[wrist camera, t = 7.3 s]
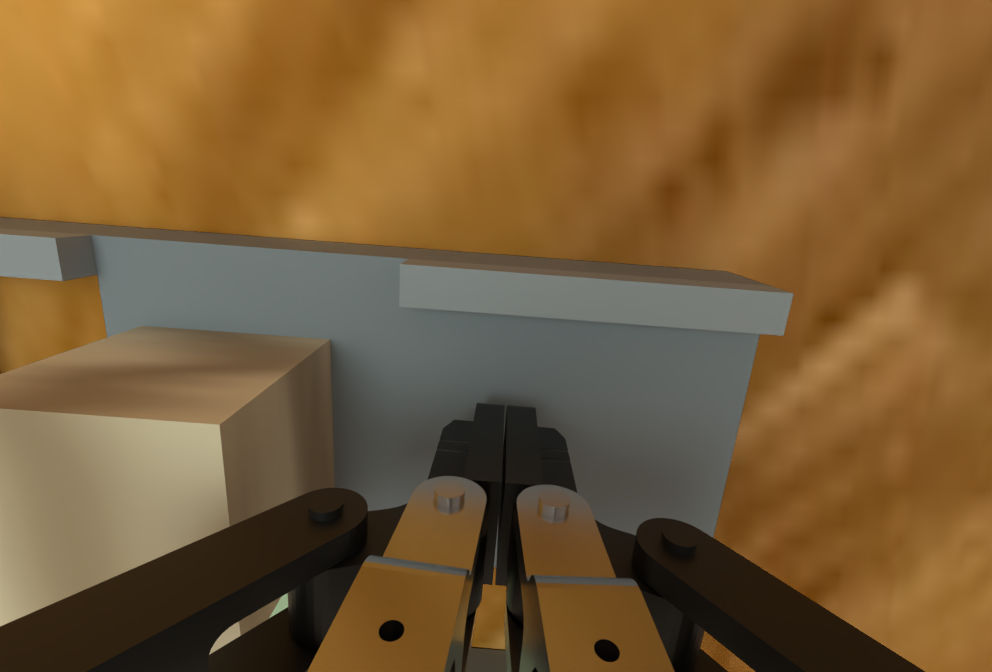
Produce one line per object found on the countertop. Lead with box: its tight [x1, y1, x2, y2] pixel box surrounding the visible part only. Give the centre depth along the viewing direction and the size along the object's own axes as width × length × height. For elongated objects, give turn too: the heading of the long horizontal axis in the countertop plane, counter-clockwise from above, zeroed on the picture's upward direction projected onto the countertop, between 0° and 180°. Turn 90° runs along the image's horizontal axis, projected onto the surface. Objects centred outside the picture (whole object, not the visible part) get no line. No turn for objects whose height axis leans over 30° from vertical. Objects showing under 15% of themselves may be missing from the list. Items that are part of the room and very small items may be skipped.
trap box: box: [0, 217, 794, 672], centre depth 15 cm, size 24×16×4 cm, turn 86°
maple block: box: [0, 326, 335, 655], centre depth 11 cm, size 5×5×5 cm
